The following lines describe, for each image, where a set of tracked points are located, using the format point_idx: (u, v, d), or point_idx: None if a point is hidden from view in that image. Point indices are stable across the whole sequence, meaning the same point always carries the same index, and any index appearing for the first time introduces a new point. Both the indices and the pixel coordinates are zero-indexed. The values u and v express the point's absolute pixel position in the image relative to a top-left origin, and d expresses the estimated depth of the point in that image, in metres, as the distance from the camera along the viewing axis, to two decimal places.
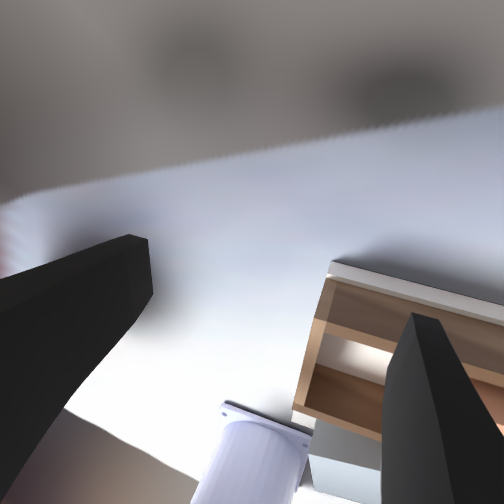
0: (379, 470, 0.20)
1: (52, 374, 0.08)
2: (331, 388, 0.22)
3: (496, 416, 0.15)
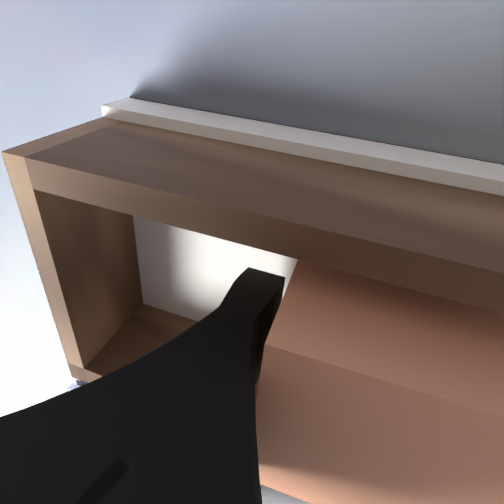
0: None
1: None
2: (151, 341, 0.12)
3: (387, 362, 0.06)
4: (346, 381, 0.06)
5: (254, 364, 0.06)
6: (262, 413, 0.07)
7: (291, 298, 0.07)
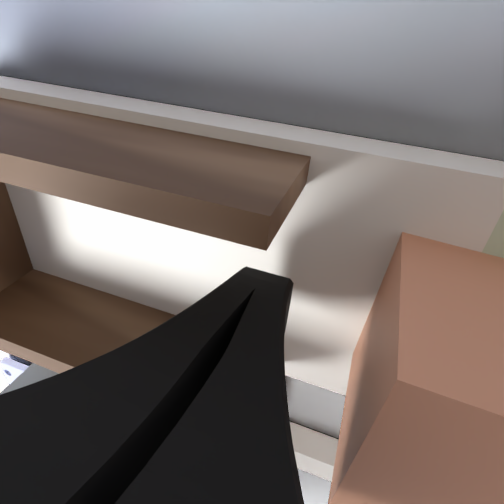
0: None
1: None
2: (29, 299, 0.13)
3: None
4: (489, 425, 0.05)
5: (283, 374, 0.06)
6: (370, 448, 0.06)
7: (408, 325, 0.06)
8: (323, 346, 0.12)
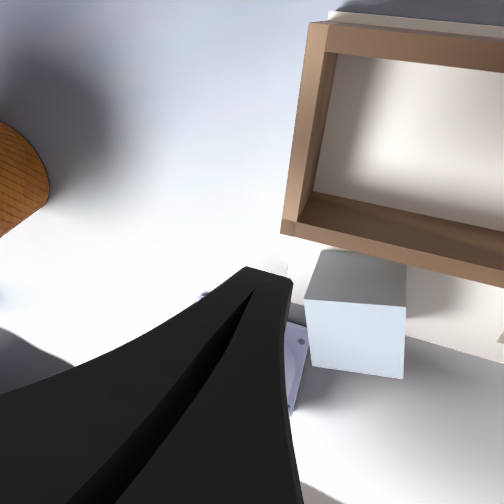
0: (404, 306, 0.14)
1: None
2: (335, 210, 0.16)
3: None
4: None
5: (284, 374, 0.06)
6: None
7: None
8: None
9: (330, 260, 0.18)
